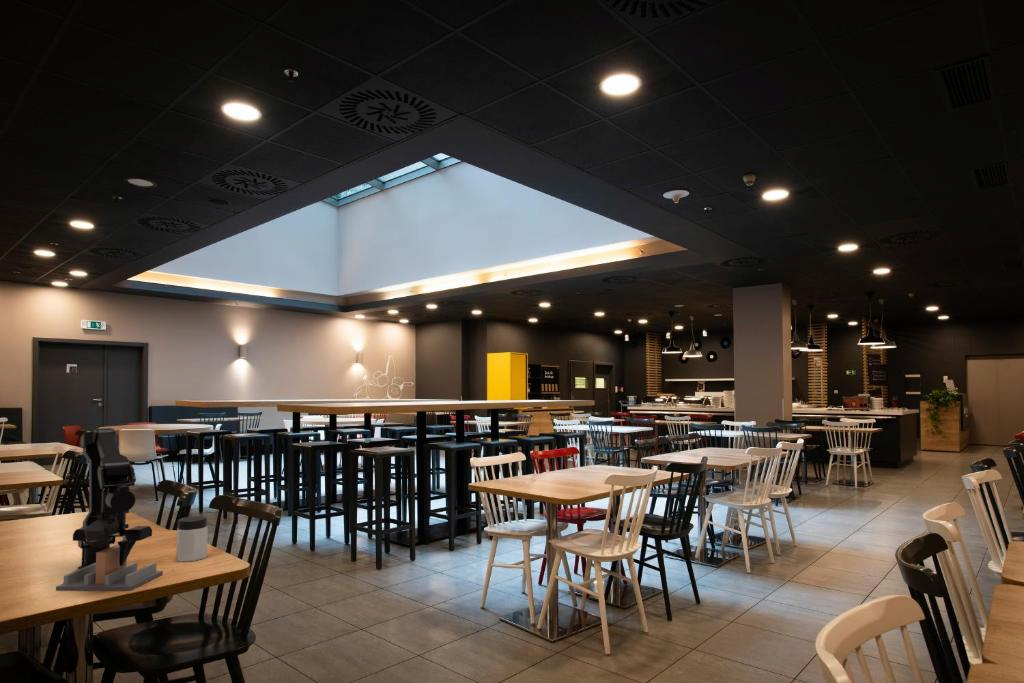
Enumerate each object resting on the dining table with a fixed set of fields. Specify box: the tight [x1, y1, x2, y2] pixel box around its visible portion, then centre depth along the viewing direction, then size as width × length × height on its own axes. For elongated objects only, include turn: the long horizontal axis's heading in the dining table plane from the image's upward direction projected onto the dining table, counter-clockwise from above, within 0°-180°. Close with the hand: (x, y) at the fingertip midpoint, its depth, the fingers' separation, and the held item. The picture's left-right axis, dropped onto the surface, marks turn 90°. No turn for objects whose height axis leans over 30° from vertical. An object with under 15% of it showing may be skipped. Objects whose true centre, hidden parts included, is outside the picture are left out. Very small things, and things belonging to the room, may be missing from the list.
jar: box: [175, 515, 208, 563], centre depth 195 cm, size 9×8×12 cm
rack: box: [55, 562, 164, 592], centre depth 171 cm, size 20×14×4 cm
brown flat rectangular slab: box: [95, 544, 128, 584], centre depth 172 cm, size 2×9×8 cm, turn 178°
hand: (111, 565), depth 172 cm, fingers open, 5 cm apart
